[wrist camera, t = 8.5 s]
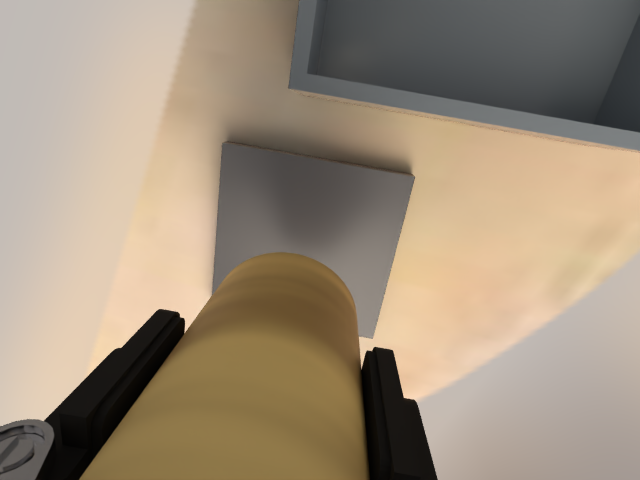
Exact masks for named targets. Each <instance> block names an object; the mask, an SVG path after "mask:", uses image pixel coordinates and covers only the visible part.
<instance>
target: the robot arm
mask: <svg viewBox="0 0 640 480" xmlns="http://www.w3.org/2000/svg"><path fill="white" fill-rule="evenodd" d="M184 330H185V320H184V318H180V314H179V313H178V312H174V311H169V310H163V309H159V310H157V311H156V312H155V313H154V314H153V315H152V316H151V318H150V319H149V320H148V321H147V322H146V323H145V324H144V325H143V326H142V327H141V328H140V329H139V330H138V331H137V332H136V333H135V334H134V335H133V336H132V337H131V338H130V339H129V341H128V342H127V343H126V344H125V345H124V346H123V347H122V348H117V349H115V350H114V351H112V352H111V353H110V354H109V355H108V356H107V357H106V358H105V359H104V360H103V361H102V362H101V363H100V364H99V365H98V366H97V367H96V368H95V369H94V370H93V371H92V373H91V374H90V375H89V376H88V377H87V378H86V379H85V380H84V381H83V382H82V383H81V384H80V385H79V386H78V387H77V388H76V389H75V390H74V391H73V392H72V393H71V394H70V395H69V396H68V397H67V398H66V399H65V400H64V401H63V402H62V403H61V404H60V405H59V406H58V407H57V408H56V409H55V410H54V411H53V412H52V413H51V414H50V415H49V416H48V417H47V418H46V419H45V420H44V421H41V420H35V419H33V420H32V419H27V420H20V421H15V422H12V423H9V424H6V425H3V426H0V480H79V479H80V477H81V476H82V475H83V473H84V472H85V471H86V469H87V468H88V466H89V465H90V464H91V462H92V461H93V460H94V458H95V457H96V455H97V454H98V453H99V451H100V450H101V448H102V447H103V446H104V444H105V443H106V442H107V440H108V439H109V437H110V436H111V435H112V433H113V432H114V431H115V429H116V428H117V426H118V425H119V424H120V422H121V421H122V419H123V418H124V417H125V415H126V414H127V413H128V411H129V410H130V408H131V407H132V406H133V404H134V403H135V402H136V400H137V399H138V397H139V396H140V395H141V393H142V392H143V390H144V389H145V388H146V386H147V385H148V384H149V382H150V381H151V379H152V378H153V377H154V375H155V374H156V373H157V371H158V370H159V368H160V367H161V366H162V364H163V363H164V361H165V360H166V359H167V357H168V356H169V355H170V353H171V352H172V350H173V349H174V348H175V346H176V345H177V343H178V342H179V341H180V339H181V338H182V337H183V335H184ZM361 373H362V385H363V398H364V410H365V423H366V436H367V448H368V461H369V473H370V480H438V479H437V476H436V472H435V468H434V464H433V461H432V457H431V453H430V449H429V446H428V442H427V438H426V435H425V431H424V427H423V423H422V419H421V416H420V412H419V408H418V405H417V402H416V401H415V400H412V399H406V398H404V397H403V393H402V388H401V384H400V379H399V375H398V370H397V366H396V361H395V357H394V353H393V350H390V349H384V348H378V347H374V348H373V351H367V352H366V354H365V358H364V362H363V366H362V370H361Z"/></svg>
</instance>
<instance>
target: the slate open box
mask: <svg viewBox="0 0 640 480" xmlns="http://www.w3.org/2000/svg"><path fill="white" fill-rule="evenodd" d="M288 88H289V89H291V90H293V91H295V92H297V93H299V94H301V95H303V96H309V97H315V98H320V99H326V100H332V101H337V102H343V103H349V104H354V105H360V106H365V107H371V108H377V109H382V110H388V111H394V112H399V113H405V114H410V115H416V116H422V117H427V118H433V119H439V120H444V121H450V122H456V123H461V124H467V125H472V126H478V127H484V128H489V129H495V130H501V131H506V132H512V133H518V134H523V135H529V136H534V137H540V138H546V139H551V140H557V141H563V142H568V143H574V144H580V145H585V146H591V147H599V148H607V149H615V150H622V151H630V152H638V153H640V0H299V6H298V14H297V22H296V31H295V39H294V47H293V55H292V63H291V71H290V79H289V87H288Z"/></svg>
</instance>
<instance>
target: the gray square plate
mask: <svg viewBox="0 0 640 480" xmlns="http://www.w3.org/2000/svg"><path fill="white" fill-rule="evenodd" d="M414 179H415V176H414V175H412V174H407V173H402V172H396V171H390V170H385V169H379V168H374V167H368V166H362V165H357V164H351V163H345V162H340V161H334V160H328V159H323V158H317V157H311V156H306V155H300V154H295V153H289V152H283V151H278V150H272V149H266V148H261V147H255V146H249V145H244V144H238V143H233V142H223V143H222V156H221V171H220V186H219V201H218V216H217V231H216V246H215V261H214V276H213V291H212V295H213V294H214V292H215V291H216V290H217V288H218V287H219V285H220V284H221V283H222V281H223V280H224V279H225V277H226V276H227V275H228V274H229V273H230V272H231V271H232V270H233V269H234V268H235V267H236V266H238V265H239V264H241V263H242V262H244V261H246V260H248V259H250V258H253V257H255V256H258V255H262V254H267V253H274V252H287V253H295V254H299V255H303V256H307V257H309V258H312V259H315V260H316V261H318V262H320V263H322V264H324V265H325V266H327V267H328V268H330V269H331V270H332V271H333V272H335V273H336V274H337V275H338V276H339V277H340V278H341V280H342V281H343V282H344V283H345V285H346V286H347V288H348V289H349V291H350V293H351V295H352V297H353V300H354V303H355V306H356V312H357V323H358V335H359V336H360V337H366V338H371V339H373V336H374V332H375V328H376V325H377V321H378V317H379V313H380V309H381V305H382V302H383V298H384V294H385V290H386V286H387V283H388V279H389V275H390V271H391V267H392V263H393V260H394V256H395V252H396V248H397V244H398V240H399V237H400V233H401V229H402V225H403V221H404V217H405V214H406V210H407V206H408V202H409V198H410V195H411V191H412V187H413V183H414Z"/></svg>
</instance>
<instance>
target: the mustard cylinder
mask: <svg viewBox="0 0 640 480" xmlns="http://www.w3.org/2000/svg"><path fill="white" fill-rule="evenodd" d="M79 480H370V473H369V461H368V448H367V436H366V423H365V410H364V398H363V385H362V373H361V360H360V348H359V335H358V323H357V312H356V306H355V303H354V300H353V297H352V295H351V293H350V291H349V289H348V288H347V286H346V285H345V283H344V282H343V281H342V280H341V278H340V277H339V276H338V275H337V274H336V273H335V272H333V271H332V270H331V269H330V268H328V267H327V266H325V265H324V264H322V263H320V262H318V261H316V260H315V259H312V258H309V257H307V256H303V255H299V254H295V253H287V252H274V253H267V254H262V255H258V256H255V257H253V258H250V259H248V260H246V261H244V262H242V263H241V264H239V265H238V266H236V267H235V268H234V269H233V270H232V271H231V272H230V273H229V274H228V275H227V276H226V277H225V279H224V280H223V281H222V283H221V284H220V285H219V287H218V288H217V290H216V291H215V292H214V294H213V295H212V297H211V298H210V299H209V301H208V302H207V303H206V305H205V306H204V308H203V309H202V310H201V312H200V313H199V314H198V316H197V317H196V319H195V320H194V321H193V323H192V324H191V326H190V327H189V328H188V330H187V331H186V332H185V334H184V335H183V337H182V338H181V339H180V341H179V342H178V343H177V345H176V346H175V348H174V349H173V350H172V352H171V353H170V355H169V356H168V357H167V359H166V360H165V361H164V363H163V364H162V366H161V367H160V368H159V370H158V371H157V373H156V374H155V375H154V377H153V378H152V379H151V381H150V382H149V384H148V385H147V386H146V388H145V389H144V390H143V392H142V393H141V395H140V396H139V397H138V399H137V400H136V402H135V403H134V404H133V406H132V407H131V408H130V410H129V411H128V413H127V414H126V415H125V417H124V418H123V419H122V421H121V422H120V424H119V425H118V426H117V428H116V429H115V431H114V432H113V433H112V435H111V436H110V437H109V439H108V440H107V442H106V443H105V444H104V446H103V447H102V448H101V450H100V451H99V453H98V454H97V455H96V457H95V458H94V460H93V461H92V462H91V464H90V465H89V466H88V468H87V469H86V471H85V472H84V473H83V475H82V476H81V477H80V479H79Z"/></svg>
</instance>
